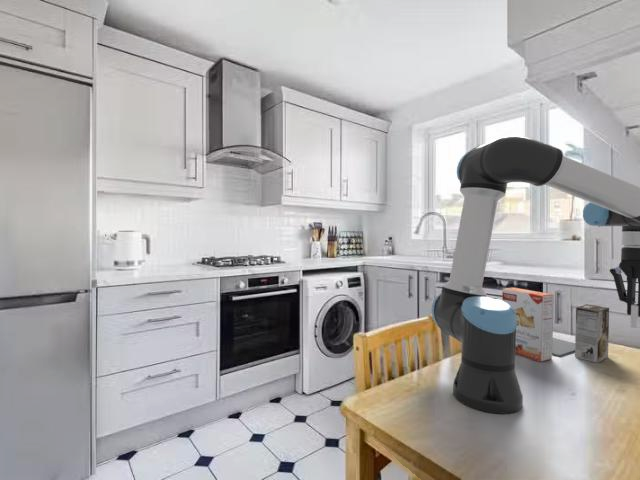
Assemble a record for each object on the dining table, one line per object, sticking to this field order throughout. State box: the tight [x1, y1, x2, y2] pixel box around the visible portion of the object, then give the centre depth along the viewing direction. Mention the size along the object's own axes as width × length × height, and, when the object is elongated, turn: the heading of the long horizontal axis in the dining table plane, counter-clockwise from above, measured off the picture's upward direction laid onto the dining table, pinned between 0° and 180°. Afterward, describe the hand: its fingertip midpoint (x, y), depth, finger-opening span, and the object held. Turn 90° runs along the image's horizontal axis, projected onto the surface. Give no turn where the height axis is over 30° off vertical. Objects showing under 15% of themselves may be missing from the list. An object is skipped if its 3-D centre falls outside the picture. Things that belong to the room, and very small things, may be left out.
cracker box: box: [501, 287, 554, 363], centre depth 116 cm, size 14×6×21 cm, turn 25°
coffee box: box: [574, 304, 610, 364], centre depth 113 cm, size 9×6×16 cm
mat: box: [552, 337, 575, 358], centre depth 124 cm, size 18×14×1 cm
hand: (635, 326), depth 104 cm, fingers closed
